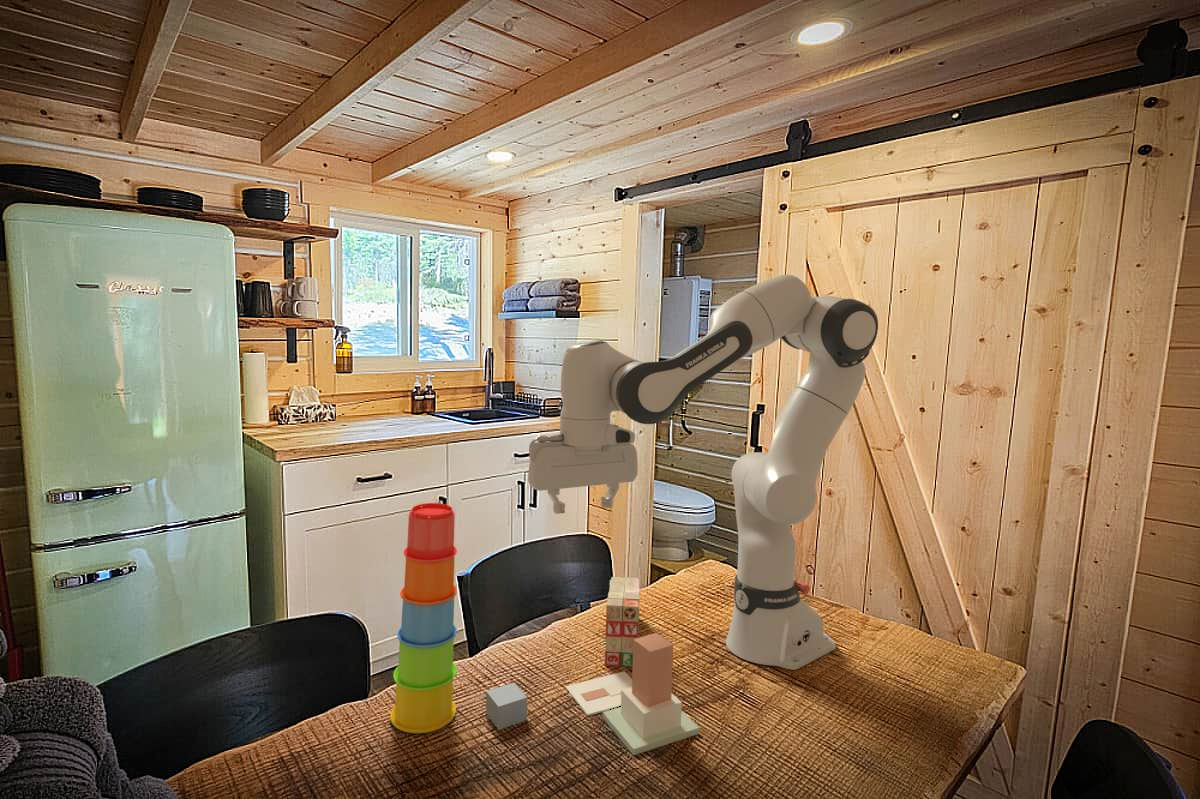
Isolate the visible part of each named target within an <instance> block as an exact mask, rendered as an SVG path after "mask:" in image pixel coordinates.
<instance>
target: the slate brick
mask: <svg viewBox="0 0 1200 799" xmlns="http://www.w3.org/2000/svg"><path fill="white" fill-rule="evenodd" d="M485 714H486V715H487V717H488V716H489V717H488V718H489V720H490V721H491V722H492V724H493V723H494V724H493V725H494V726H495V728H496V727H497V728H496V729H497V730H498V731H500V730H503V729H505V727H506V728H508V727H511V725H512V726H514V725H518V724H520V723H523V722H526V721H528V696H527V695H526V694H525V693H524V691H523V690H522V689H521V688H520V687H519V686H518V685H517V684H516V683H515V682H512V683H509V684H505V685H502V686H499V687H494V688H492V689H489V690H486V691H485ZM525 720H526V721H525ZM502 728H503V729H502ZM499 729H500V730H499Z"/></svg>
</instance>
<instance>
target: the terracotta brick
mask: <svg viewBox="0 0 1200 799" xmlns="http://www.w3.org/2000/svg"><path fill="white" fill-rule="evenodd" d="M673 662H674V644H673V643H671V642H670V641H668V640H667V639H666V638H664V637H663V636H661V635H660V634H659V633H657V632H655V633H651V634H648V635H643V636H640V637H638V638H637V639H633V667H632V670H631V671H632V673H631V674H632V676H631V678H632V694H633V695H635V696H636V697H637V698H638V699H639V700H640V701H641V702H643V703H644V704H645V705H646V706H647V707H648V708H649V707H651V706H654V705H657V704H660V703H662V702H665V701H668V700H670V699H671V696H672V694H673V693H672V692H673V690H672V689H673V667H674V666H673Z"/></svg>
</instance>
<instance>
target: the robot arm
mask: <svg viewBox="0 0 1200 799" xmlns="http://www.w3.org/2000/svg"><path fill="white" fill-rule="evenodd" d="M878 330H879V320H878V316H877V314H876V312H875V310H874V309H873V308H872V307H871V306H870V305H868V304H866V303H865V302H862V301H860V300H857V299H855V298H854V299H853V298H843V297H839V296H830V295H825V296H812V295H811V293H810V290H809V288H808V286H807V285H806V284H805V282H804V281H803V280H801V279H800V278H799V277H797V276H795V275H792V274H781V275H777V276H774V277H771V278H769V279H767V280H766V279H765V280H763V281H761V282H758V283H756V284H754V285H752V286H750V287H748V288H745V289H743V291H740V292H739V293H737V294H735V295H733V296H731V297H730V298H728V299H727V300H726V301H724V302H723V303H722V304H720V305H719V306H718V307H717V308H716V309H715V310H714V311H713V312H712V313H711V314H710V318H709V322H708V332H707V334H705V336H703V337H702V338H700V339H699V340H698V341H695V342H694V343H692V344H691V345H689V346H688V347H686V348H685V349H682V351H680V352H678V353H677V354H675V355H673V356H672V357H670V358H667V359H665V360H659V361H647V362H644V361H640V360H637V359H635V358H633V357H630V356H628V355H626V354H624V353H622V352H620V351H618V350H617V349H615V348H614V347H612V346H611V345H609V343H608V342H607V341H604V340H593V341H586V342H580V343H579V342H578V343H577V344H573V345H571V346H569V348H567V350H566V351H565V352H564V354H563V358H562V364H561V372H560V373H561V376H560V394H561V399H562V405H561V410H560V417H559V418H560V420H559V425H560V426H559V434H552V435H538V436H536V438H535V439H532V441H531V442H530V443H529V449H528V457H529V459H530V460H529V466H528V474H527V483H528V484H529V486H530V487H531V488H532V489H534V490H536V491H539V492H540V491H547V495H548V496H549V498H550V500H551V502H552V504H553V507H552V510H553V513H554V514H556V515H557V514H564V513H565V512H566V509H565V508H566V503H564V502H563V501H560V500H559V497H558V496H560V494H561V493H560V491H561V490H560V489H571V488H573V489H574V488H581V487H591V486H601V485H602V486H603V485H606V487H607V488H608V489H607V491H606V493H605V496H601V504H600V505H601V507H602V508H604V509H610V508H613V505H614V504H613V503H614V498H615V496H616V495H617V493H618V491H619V489H620V484H621V483H632V482H634V481H635V480H636V478H637V476H638V472H639V468H638V467H639V466H638V452H637V449H636V446H635V445H634V444H633V443H634V442H635V441H636V433H635V432H634V431H632V430H629V429H627V428H623V427H620V426H619V425H617V424H614V423H611V415H612V414H611V413H612V412H621V413H623V414H625V415H626V416H627V417H628V418H630V420H632V421H634V422H636V423H638V424H641V425H654V424H655V425H656V424H659V423H661V422H663V421H665V420H667V419H669V417H670V416H671V415H673V413H675V411H676V410H677V409H678V407H679V406H680V404H681V403H682V402H683V400H684V399H685V398H686V397H687V395H689V394H690V392H692V391H694V390H695V389H696V388H698V387H699V386H700V385H702V384H704V383H705V382H706V381H708V380H710V379H712V378H713V377H714V376H715V375H718V374H719V373H721V372H722V371H723V370H725V369H726V368H728V367H729V366H731V365H732V364H735V363H736V362H738V361H739V360H742V359H744V358H746V357H748V356H751V355H753V354H755V353H757V352H759V351H761V350H763V349H765V348H766V347H768V346H770V345H771V344H773V343H774V342H776V341H778V340H780V339H781V340H782V341H783V342H784V343H785V344H786V345H788V346H790V347H791V348H793V349H797V350H801V351H805V352H807V353H809V358H808V359H809V360H808V364H807V368H806V371H805V372H804V374H803V375H802V377H801V378H800V379H799V381H798V382H797V384H796V386H795V387H794V389H793V391H792V393H791V394H790V395H789V397H788V399H787V401H786V402H785V404H784V405H783V408H782V409H781V410H780V412H779V414H778V415H777V417H776V419H775V422H774V433H773V437H772V440H771V442H770V446H769V447H768V451H767V452H761V451H758V452H757V451H755V452H748V453H745V454H742V455H741V456H740V457H738V459H737V460H735V462H734V464H733V465H732V467H731V473H730V474H731V475H730V476H731V482H732V485H733V494H734V507H735V508H734V509H735V516H736V524H737V536H738V537H737V538H738V543H737V544H738V548H737V549H738V550H737V551H738V552H737V573H736V574H735V576H734V584H733V585H734V586H733V587H734V588H733V589H734V590H733V595H734V596H733V597H734V606H733V611H732V616H731V621H730V625H729V630H728V633H727V636H726V640H725V644H726V645H725V646H726V648H727V649H728V650H729V651H730V652H731V653H732V654H734V655H735V656H737V657H739V658H741V659H742V660H745V661H748V662H751V663H755V664H759V665H766V666H774V667H775V666H776V667H779V668H783V669H787V670H792V671H796V670H798V669H800V668H802V667H804V666H807V665H808V664H810V663H812V662H813V661H816V660H817V659H819V658H821V657H823V656H825V655H827V654H829V653H830V652H832V651H834V650H836V649H837V647H836V642H835V641H834V640H833V639H832V638H831V636H829V635H828V634H827V633H826V632H824V630H825V629H824V621H823V619H822V616H821V615H820V614H819V613H818V612H817V611H816V610H815V609H814V608H813V607H812V606H810V605H809V604H808V603H807V602H805V601H804V600H803V599H802V598H801V597H800V592H801V593H802V594H804V595H808V594H809V592H810V591H811V586H810V584H808V583H804V582H803V581H799V582H797V581H796V579H795V574H796V573H795V570H796V569H795V568H796V553H797V550H796V549H797V546H796V545H797V544H796V541H795V538H794V535H793V531H792V526H791V525H795V524H798V523H801V522H803V521H805V520H806V519H807V518H808V517H809V516H811V514H812V513H813V511H814V509H815V506H816V502H817V493H816V485H817V481H818V477H819V473H820V472H821V471H820V470H821V469H822V468H821V467H822V464H823V462H824V459H825V456H826V454H827V452H828V449H829V447H830V445H831V443H832V442H833V441H834V439H835V436H836V434H837V433H838V431H839V430H840V428H841V427H842V424H844V422H845V420H846V418H847V417H848V414H849V413H850V411H851V410H852V408H853V405H854V404H855V402H856V399H857V397H858V395H859V393H860V391H861V388H862V385H863V384H864V381H865V377H866V373H867V368H866V366H865V363H864V360H865V359H866V358H867V357H868V356H869V354H870V352H871V349H872V348H873V346H874V344H875V342H876V340H877V335H878Z"/></svg>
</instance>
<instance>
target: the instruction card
mask: <svg viewBox="0 0 1200 799" xmlns="http://www.w3.org/2000/svg"><path fill="white" fill-rule="evenodd" d="M630 687H632V676H630V675H629V674H628V672H626V671H625V670H624V671H619V672H617V673H613V674H608V675H604V676H600V677H597V678H593V679H589V680H585V681H581V682H577V683H573V684H569V685H566V686H565V689H567V690H568V691H569V692H568V691H567V690H566V691H567V692H568V694H571V695H572V696H571V695H570V696H571V698H572V699H573V700H574V699H575V700H574V701H575V702H576V704H577V705H578V704H579V705H578V706H579V707H580V709H581V710H582V711H583V712H584V714H585V715H586V716H587V717H589V716H593V715H596V714H599V713H603V712H605V711H609V710H610V709H611V710H612V709H613V708H614V709H616V708H617V707H618V708H619V706H621V690H623V689H627V688H630Z"/></svg>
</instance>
